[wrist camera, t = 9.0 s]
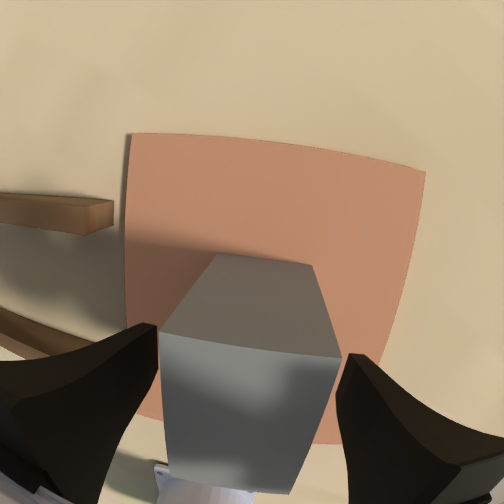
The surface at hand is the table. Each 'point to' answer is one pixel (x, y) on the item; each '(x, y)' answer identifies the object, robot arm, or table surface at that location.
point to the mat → (269, 232)
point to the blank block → (246, 374)
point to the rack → (57, 219)
